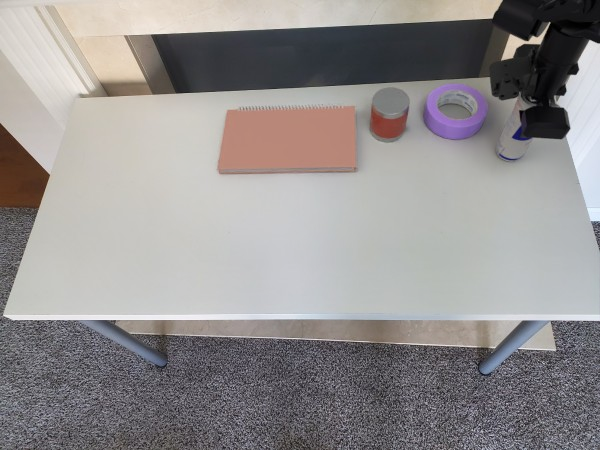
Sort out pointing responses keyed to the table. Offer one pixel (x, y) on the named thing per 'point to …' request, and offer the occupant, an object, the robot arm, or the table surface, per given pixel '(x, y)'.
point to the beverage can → (514, 133)
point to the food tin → (389, 114)
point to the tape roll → (459, 96)
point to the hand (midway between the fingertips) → (521, 125)
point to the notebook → (289, 140)
